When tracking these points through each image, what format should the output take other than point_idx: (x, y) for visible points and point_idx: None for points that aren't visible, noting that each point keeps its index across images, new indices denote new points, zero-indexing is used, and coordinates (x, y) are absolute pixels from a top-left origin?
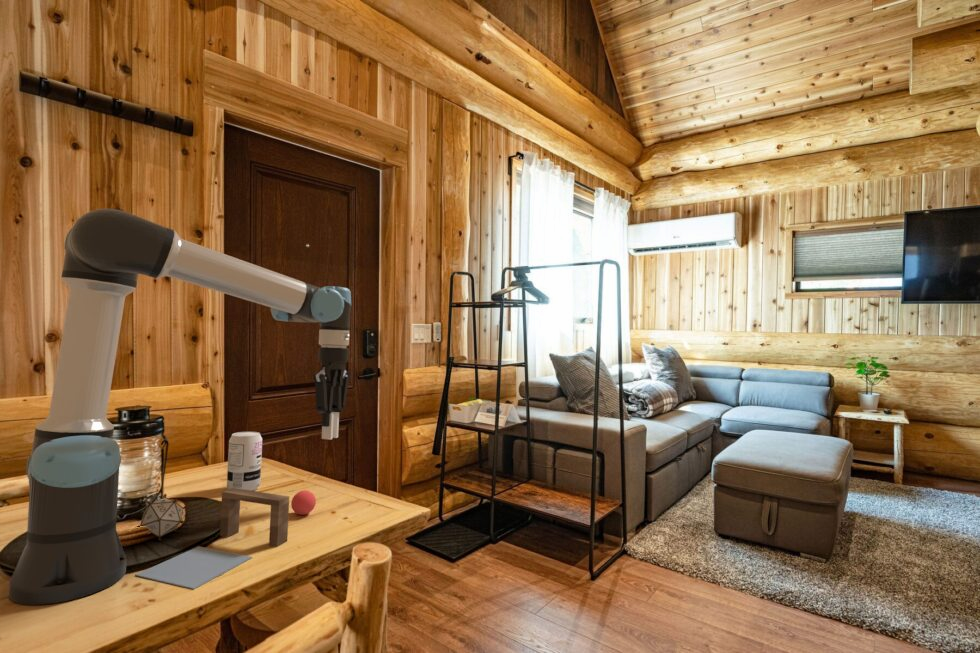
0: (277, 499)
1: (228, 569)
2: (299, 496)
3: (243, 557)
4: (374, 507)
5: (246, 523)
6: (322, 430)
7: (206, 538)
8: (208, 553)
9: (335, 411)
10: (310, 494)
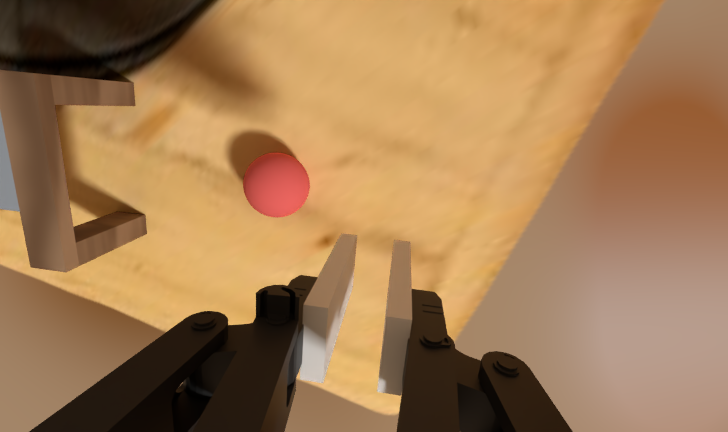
0: (34, 258)
1: (12, 210)
2: (246, 189)
3: None
4: None
5: (183, 83)
6: (332, 252)
7: (80, 60)
8: None
9: (403, 369)
10: (268, 211)
